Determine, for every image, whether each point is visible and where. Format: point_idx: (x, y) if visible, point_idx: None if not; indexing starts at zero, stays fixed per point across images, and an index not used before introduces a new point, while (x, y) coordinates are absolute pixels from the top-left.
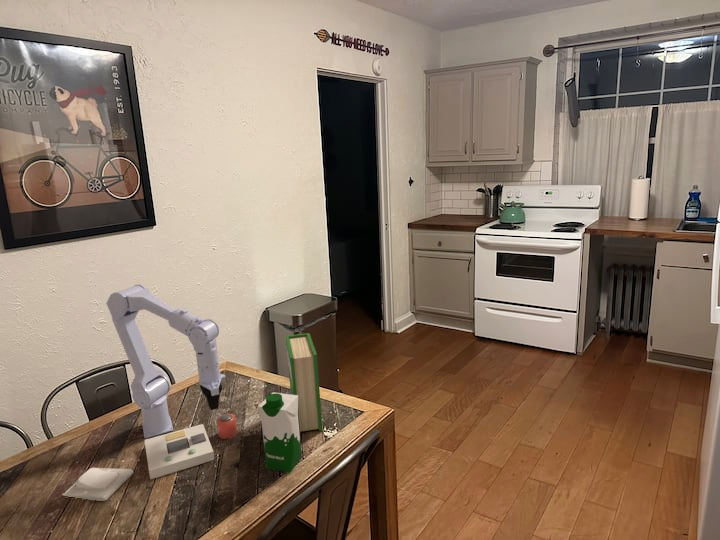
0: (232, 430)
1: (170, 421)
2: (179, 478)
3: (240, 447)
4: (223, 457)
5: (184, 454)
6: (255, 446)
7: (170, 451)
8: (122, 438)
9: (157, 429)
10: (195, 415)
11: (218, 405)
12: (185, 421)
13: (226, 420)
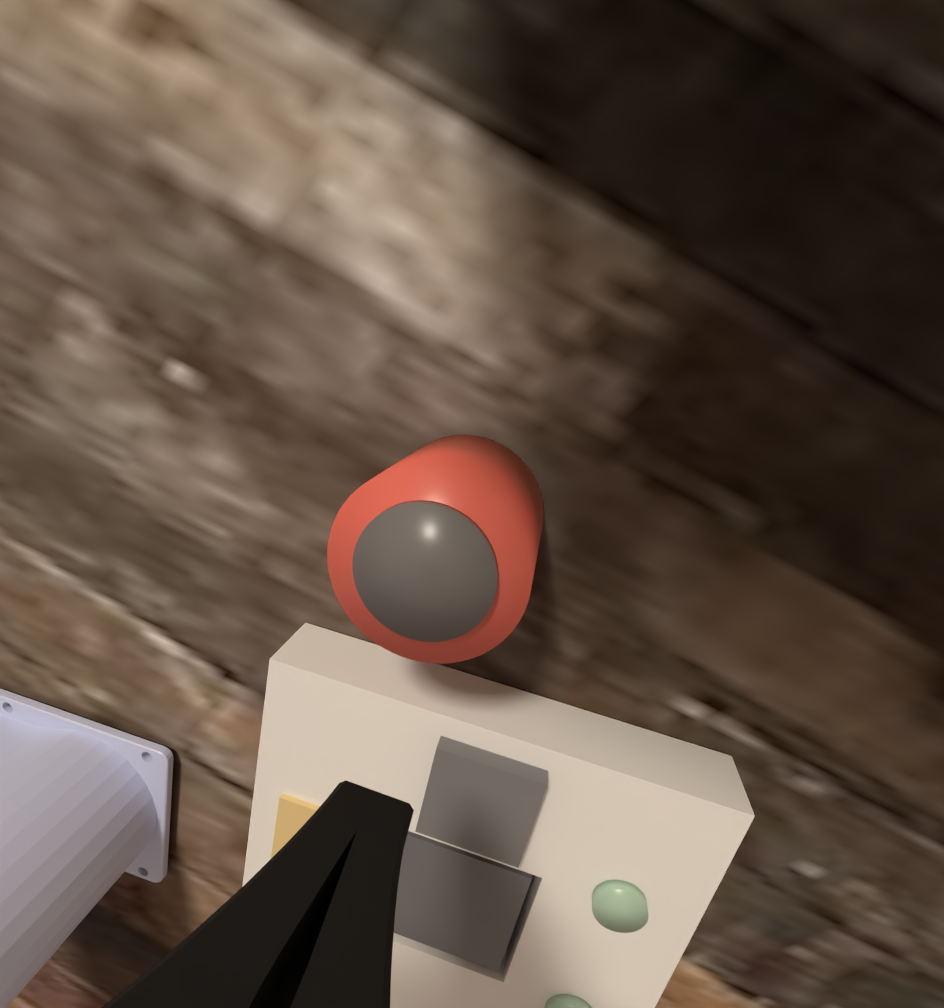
0: (540, 523)
1: (60, 721)
2: (729, 965)
3: (754, 544)
4: (763, 701)
5: (599, 939)
6: (868, 440)
7: (480, 958)
8: (98, 924)
9: (136, 846)
10: (52, 558)
11: (399, 834)
12: (97, 641)
13: (491, 605)
